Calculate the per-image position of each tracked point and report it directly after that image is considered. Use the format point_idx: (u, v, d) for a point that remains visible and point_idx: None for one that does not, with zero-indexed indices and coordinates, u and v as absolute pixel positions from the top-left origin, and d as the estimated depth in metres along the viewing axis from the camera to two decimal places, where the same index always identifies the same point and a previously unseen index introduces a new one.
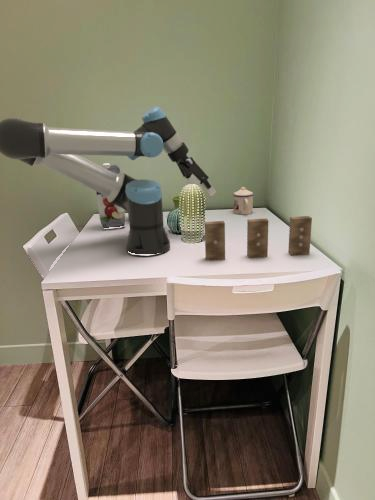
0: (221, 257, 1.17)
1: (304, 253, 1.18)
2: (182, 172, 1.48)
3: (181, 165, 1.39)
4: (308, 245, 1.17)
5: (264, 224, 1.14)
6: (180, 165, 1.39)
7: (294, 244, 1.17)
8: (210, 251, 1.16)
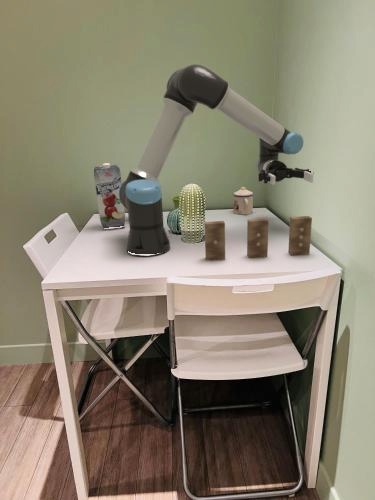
0: (221, 257, 1.17)
1: (304, 253, 1.18)
2: (263, 172, 1.29)
3: (277, 168, 1.33)
4: (308, 245, 1.17)
5: (264, 224, 1.14)
6: (278, 167, 1.34)
7: (294, 244, 1.17)
8: (210, 251, 1.16)
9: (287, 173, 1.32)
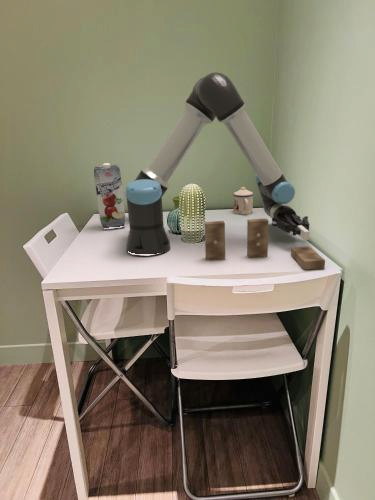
0: (221, 257, 1.17)
1: None
2: (286, 223, 1.22)
3: None
4: None
5: (264, 224, 1.14)
6: (287, 214, 1.29)
7: None
8: (210, 251, 1.16)
9: (292, 222, 1.27)
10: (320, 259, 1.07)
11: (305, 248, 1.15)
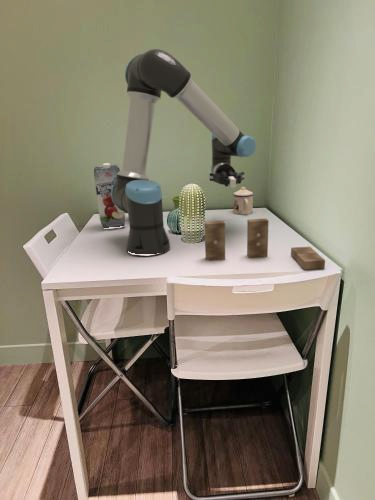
0: (221, 257, 1.17)
1: None
2: (220, 175, 1.28)
3: (224, 171, 1.34)
4: None
5: (264, 224, 1.14)
6: (224, 170, 1.34)
7: None
8: (210, 251, 1.16)
9: (228, 176, 1.33)
10: (320, 259, 1.07)
11: (305, 248, 1.15)
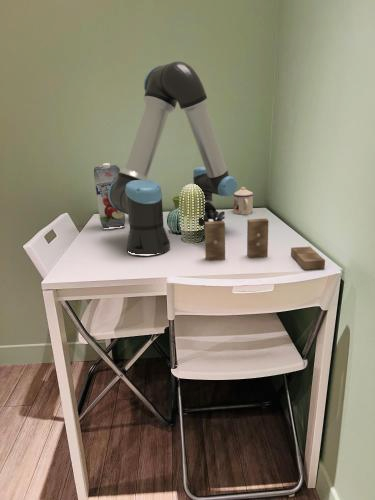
0: (221, 257, 1.17)
1: None
2: None
3: (205, 211, 1.38)
4: None
5: (264, 224, 1.14)
6: (205, 210, 1.38)
7: None
8: (210, 251, 1.16)
9: (209, 216, 1.36)
10: (320, 259, 1.07)
11: (305, 248, 1.15)
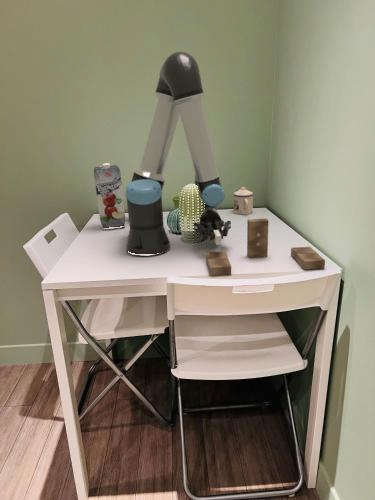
0: None
1: None
2: (204, 227, 1.19)
3: (210, 220, 1.26)
4: None
5: (264, 224, 1.14)
6: (209, 219, 1.26)
7: None
8: None
9: (214, 226, 1.24)
10: (320, 259, 1.07)
11: (305, 248, 1.15)
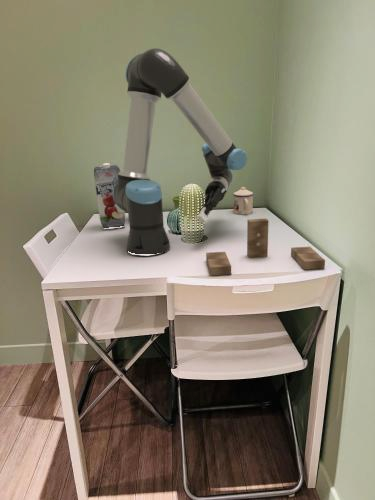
0: None
1: None
2: None
3: (208, 195, 1.37)
4: None
5: (264, 224, 1.14)
6: (207, 194, 1.37)
7: None
8: None
9: None
10: (320, 259, 1.07)
11: (305, 248, 1.15)
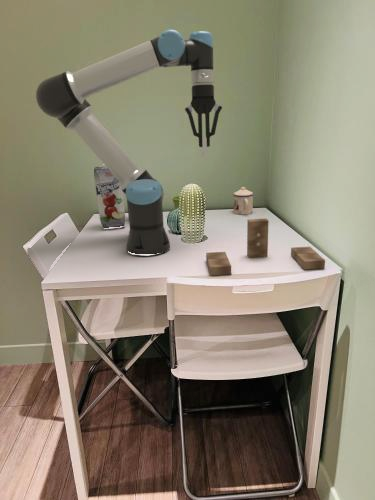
0: None
1: None
2: (212, 125, 1.30)
3: None
4: None
5: (264, 224, 1.14)
6: None
7: None
8: None
9: None
10: (320, 259, 1.07)
11: (305, 248, 1.15)
